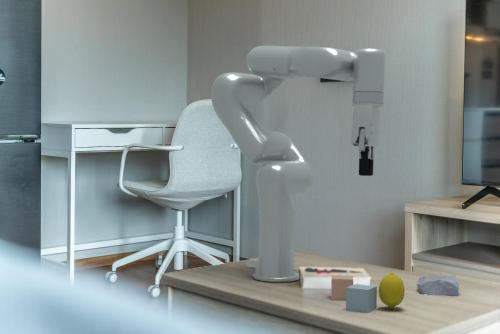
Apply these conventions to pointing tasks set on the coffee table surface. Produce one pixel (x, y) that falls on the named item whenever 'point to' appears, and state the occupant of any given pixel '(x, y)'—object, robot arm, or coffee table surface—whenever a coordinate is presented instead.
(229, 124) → the robot arm
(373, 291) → the slate block
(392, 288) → the lemon
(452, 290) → the stone block
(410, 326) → the coffee table surface
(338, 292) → the terracotta block
